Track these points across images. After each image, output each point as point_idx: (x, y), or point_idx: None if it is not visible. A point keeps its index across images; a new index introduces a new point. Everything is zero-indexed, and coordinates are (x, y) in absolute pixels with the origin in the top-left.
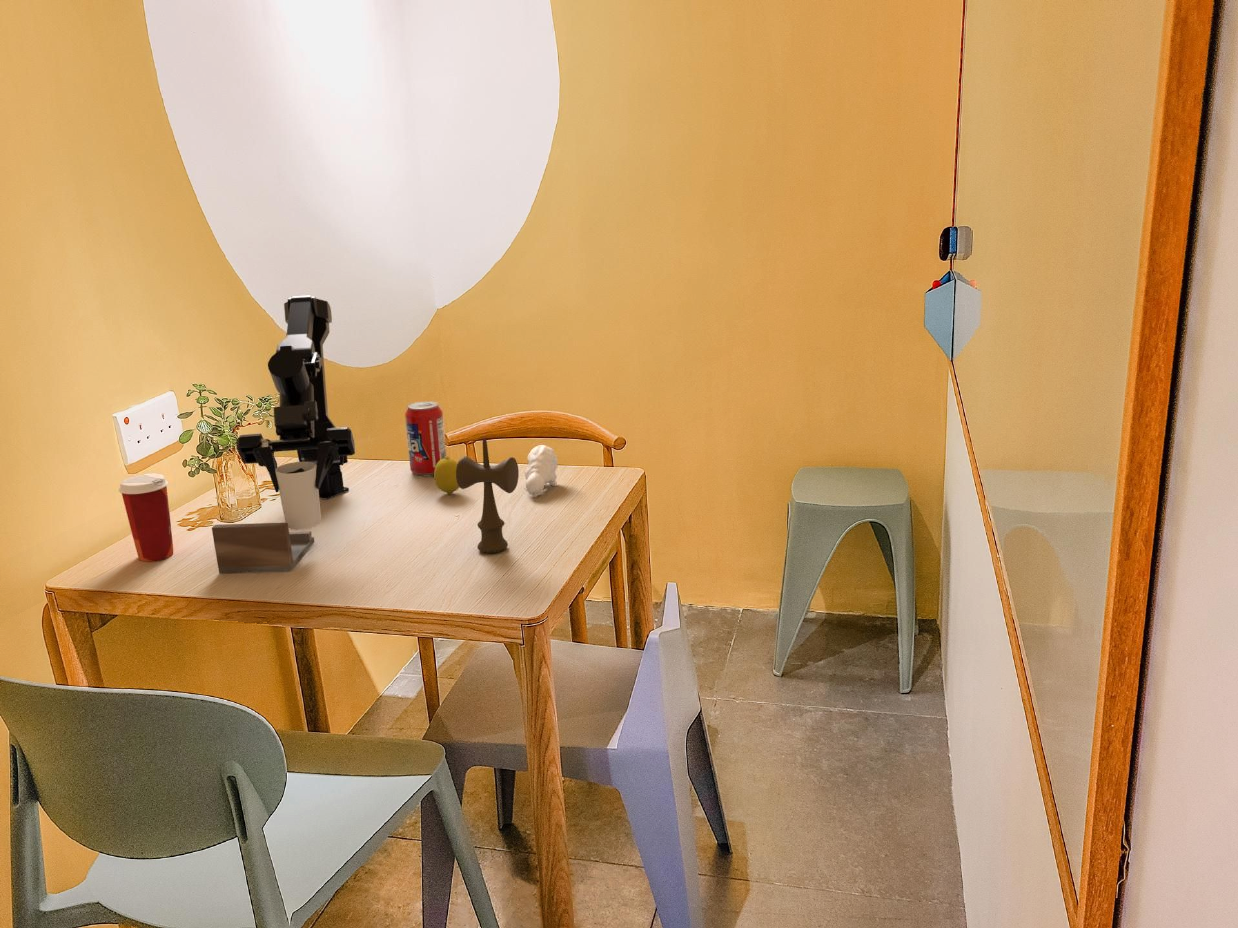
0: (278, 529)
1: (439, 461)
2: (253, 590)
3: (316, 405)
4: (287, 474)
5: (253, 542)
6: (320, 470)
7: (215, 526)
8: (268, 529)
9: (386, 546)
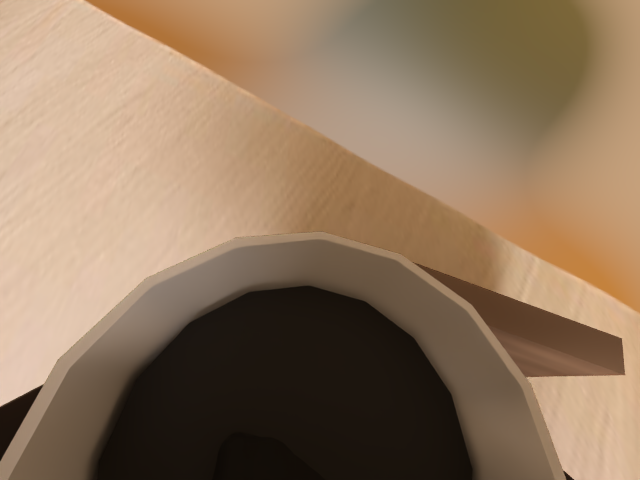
0: None
1: None
2: (400, 215)
3: None
4: (396, 253)
5: None
6: (4, 419)
7: (614, 350)
8: None
9: (19, 377)
